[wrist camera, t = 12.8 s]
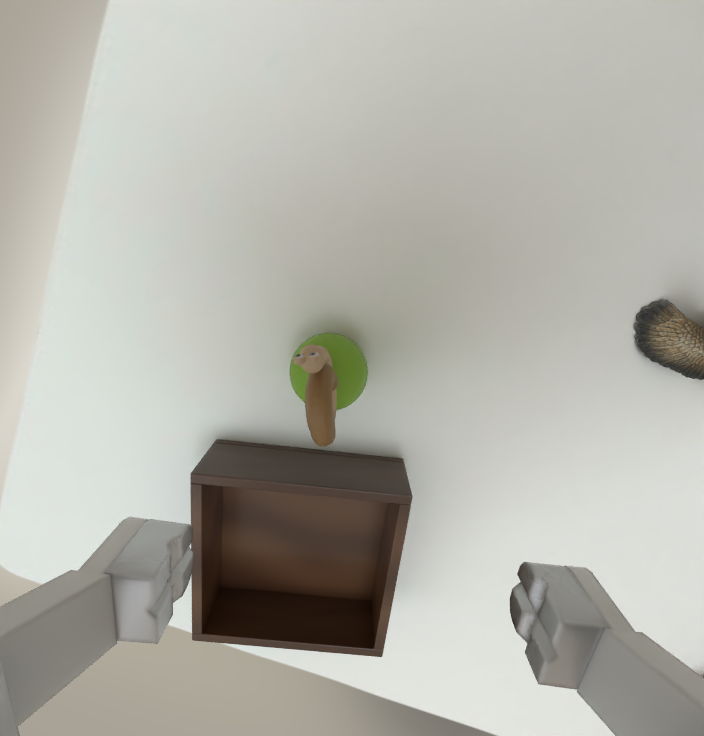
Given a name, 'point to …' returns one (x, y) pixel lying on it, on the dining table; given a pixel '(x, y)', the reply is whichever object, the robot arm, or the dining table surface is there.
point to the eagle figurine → (671, 339)
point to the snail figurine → (327, 380)
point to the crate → (296, 547)
